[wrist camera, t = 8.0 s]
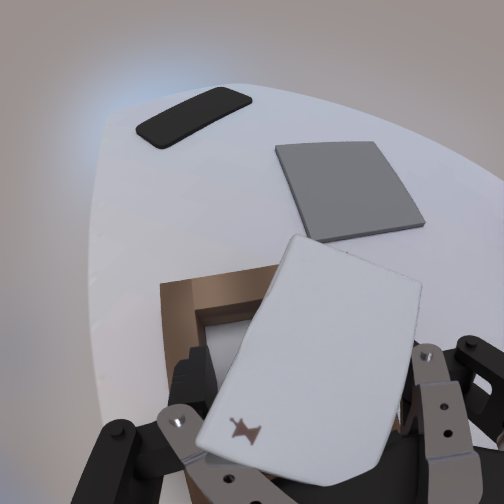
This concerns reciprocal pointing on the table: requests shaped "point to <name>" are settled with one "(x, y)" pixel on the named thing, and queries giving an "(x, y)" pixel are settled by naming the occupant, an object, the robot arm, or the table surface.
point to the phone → (191, 116)
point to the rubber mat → (346, 190)
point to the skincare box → (317, 369)
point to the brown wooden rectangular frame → (210, 320)
